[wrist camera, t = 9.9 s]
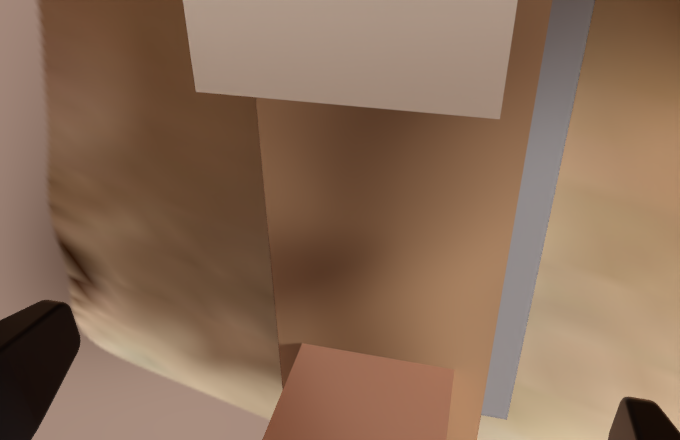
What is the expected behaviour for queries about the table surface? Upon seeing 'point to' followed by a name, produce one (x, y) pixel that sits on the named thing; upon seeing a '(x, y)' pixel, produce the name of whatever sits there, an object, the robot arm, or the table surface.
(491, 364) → the block
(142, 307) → the table surface
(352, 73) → the block
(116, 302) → the table surface
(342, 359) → the block
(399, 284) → the tan long bar
